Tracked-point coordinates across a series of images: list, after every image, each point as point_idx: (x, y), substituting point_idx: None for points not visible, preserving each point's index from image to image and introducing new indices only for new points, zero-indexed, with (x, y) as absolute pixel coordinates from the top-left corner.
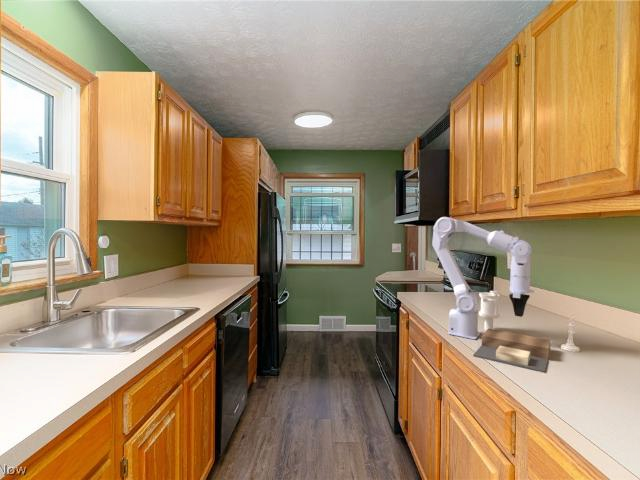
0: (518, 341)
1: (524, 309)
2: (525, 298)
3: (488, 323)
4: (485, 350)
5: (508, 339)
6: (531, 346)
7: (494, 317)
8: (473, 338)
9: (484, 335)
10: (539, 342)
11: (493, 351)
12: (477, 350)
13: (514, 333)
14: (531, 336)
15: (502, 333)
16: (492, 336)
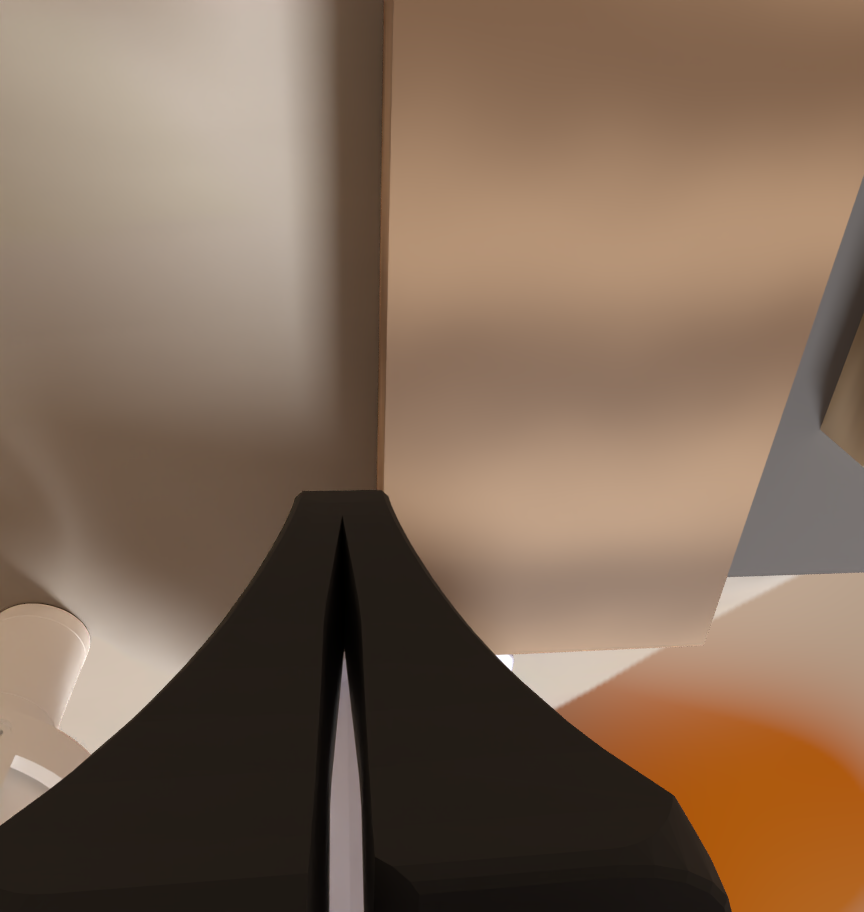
0: (755, 333)
1: (270, 565)
2: (721, 897)
3: (60, 702)
4: (811, 527)
5: (721, 435)
6: (855, 170)
7: (49, 735)
8: (512, 662)
9: (685, 631)
10: (673, 73)
11: (809, 474)
12: (834, 570)
13: (398, 418)
14: (398, 206)
15: (494, 523)
16: (682, 574)
